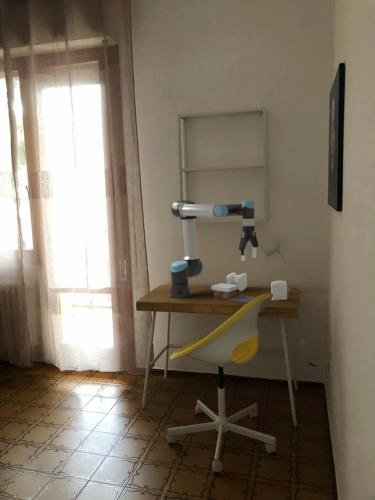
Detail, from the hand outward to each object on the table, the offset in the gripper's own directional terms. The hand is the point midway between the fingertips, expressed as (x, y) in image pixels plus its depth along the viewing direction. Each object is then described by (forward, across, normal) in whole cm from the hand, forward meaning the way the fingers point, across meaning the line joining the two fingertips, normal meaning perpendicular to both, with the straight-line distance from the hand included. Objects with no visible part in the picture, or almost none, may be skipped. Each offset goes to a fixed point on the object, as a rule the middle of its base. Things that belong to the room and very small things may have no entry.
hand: (249, 259), depth 260 cm
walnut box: (+27, 0, +19) cm, 33 cm away
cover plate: (+22, 0, +19) cm, 29 cm away
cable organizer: (+27, +21, +23) cm, 41 cm away
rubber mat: (+27, 0, +3) cm, 27 cm away
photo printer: (+27, +11, -15) cm, 33 cm away
